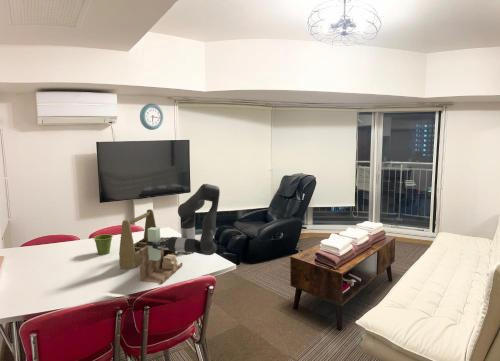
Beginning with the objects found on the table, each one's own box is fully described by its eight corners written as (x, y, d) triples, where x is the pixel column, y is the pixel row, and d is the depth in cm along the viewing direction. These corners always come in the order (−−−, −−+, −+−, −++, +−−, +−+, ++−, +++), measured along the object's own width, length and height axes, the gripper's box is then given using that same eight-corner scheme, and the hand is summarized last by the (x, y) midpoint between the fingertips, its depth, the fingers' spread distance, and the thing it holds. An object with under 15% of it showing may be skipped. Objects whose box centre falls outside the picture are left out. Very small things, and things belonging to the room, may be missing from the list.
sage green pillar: (152, 257, 177) (151, 227, 174) (160, 258, 176) (159, 227, 173) (148, 259, 173) (147, 229, 171) (157, 260, 172) (156, 229, 170)
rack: (162, 265, 195) (161, 237, 193) (182, 267, 193) (181, 238, 190) (140, 283, 172) (139, 250, 170) (162, 285, 169) (161, 252, 167)
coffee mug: (162, 266, 195) (161, 250, 194) (162, 261, 203) (161, 245, 202) (181, 264, 198) (181, 248, 197) (180, 259, 206) (180, 244, 205)
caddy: (135, 270, 189) (133, 220, 185) (119, 268, 191) (116, 219, 187) (159, 253, 217) (157, 209, 214) (144, 251, 220) (142, 208, 216)
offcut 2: (166, 264, 194) (166, 259, 194) (177, 265, 193) (177, 259, 193) (162, 268, 189) (162, 262, 188) (173, 269, 188) (173, 263, 187)
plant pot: (100, 257, 209) (99, 240, 207) (91, 253, 216) (89, 237, 214) (117, 252, 218) (116, 236, 217) (107, 248, 225) (106, 233, 224)
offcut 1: (168, 259, 194) (168, 254, 193) (176, 260, 192) (176, 255, 191) (163, 262, 189) (163, 257, 189) (171, 263, 187) (171, 258, 187)
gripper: (184, 233, 176) (155, 231, 180) (172, 241, 162) (141, 239, 166) (184, 246, 177) (156, 244, 181) (172, 256, 164) (142, 253, 167)
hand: (149, 242), depth 174 cm, fingers closed on sage green pillar, 4 cm apart
